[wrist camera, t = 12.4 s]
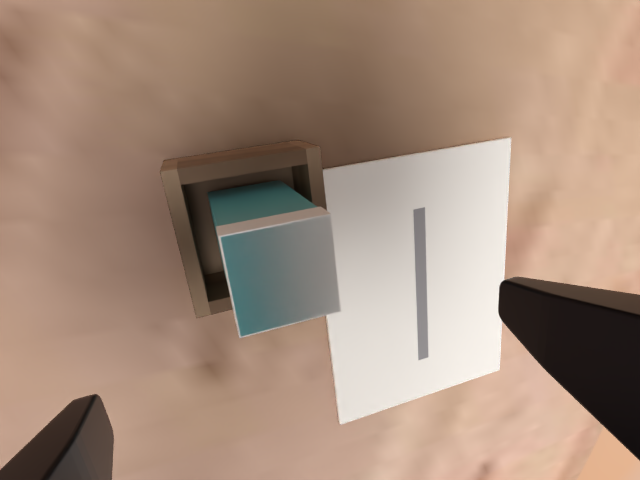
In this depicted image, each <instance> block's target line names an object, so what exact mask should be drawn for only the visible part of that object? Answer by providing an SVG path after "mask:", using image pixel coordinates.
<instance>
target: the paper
mask: <svg viewBox="0 0 640 480" xmlns="http://www.w3.org/2000/svg"><path fill="white" fill-rule="evenodd" d="M510 154H511V138H509V137H507V138H501V139H495V140H489V141H483V142H478V143H472V144H466V145H460V146H454V147H449V148H443V149H437V150H431V151H425V152H420V153H414V154H408V155H402V156H396V157H391V158H385V159H379V160H373V161H367V162H362V163H356V164H350V165H344V166H338V167H333V168H327V169H323V178H324V187H325V196H326V205H327V211H328V212H329V213H331V219H332V229H333V238H334V248H335V257H336V266H337V276H338V285H339V295H340V304H341V312H337V313H334V314H330V315H326V324H327V333H328V341H329V349H330V357H331V365H332V373H333V381H334V389H335V398H336V406H337V414H338V422H339V424H340V425H341V424H344V423H347V422H350V421H353V420H356V419H359V418H362V417H365V416H368V415H370V414H373V413H376V412H379V411H382V410H385V409H388V408H391V407H394V406H397V405H399V404H402V403H405V402H408V401H411V400H414V399H417V398H420V397H423V396H426V395H428V394H431V393H434V392H437V391H440V390H443V389H446V388H449V387H452V386H455V385H457V384H460V383H463V382H466V381H469V380H472V379H475V378H478V377H481V376H484V375H486V374H489V373H492V372H495V371H498V370H500V352H501V332H502V320H501V318H500V316H499V313H498V302H499V286H500V283H501V282H502V281H503V280H504V273H505V253H506V233H507V214H508V194H509V174H510Z"/></svg>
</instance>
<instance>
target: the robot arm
mask: <svg viewBox="0 0 640 480" xmlns="http://www.w3.org/2000/svg"><path fill="white" fill-rule="evenodd" d="M498 313H499V316H500V318H501V320H502V321H503V323H504V324H505V325H506V326H507V327H508V328H509V329H510V331H511V332H512V333H513V334H514V335H515V336H516V338H517V339H518V340H519V341H520V342H521V343H522V344H523V346H524V347H525V348H526V349H527V350H528V351H529V352H530V354H531V355H532V356H533V357H534V358H535V359H536V360H537V362H538V363H539V364H540V365H541V366H542V367H543V368H544V369H545V370H546V371H547V372H548V373H549V374H550V375H551V376H552V377H553V378H554V379H555V380H556V381H557V382H558V383H559V384H560V385H561V386H562V387H563V388H564V389H565V390H567V391H568V392H569V393H570V394H571V395H572V396H573V397H574V398H575V399H576V400H577V401H578V402H579V403H580V404H581V405H582V406H583V407H584V408H585V409H586V410H587V411H588V412H589V413H591V414H592V415H593V416H594V417H595V418H596V419H597V420H598V421H599V422H600V423H601V424H602V425H603V426H604V427H605V428H606V429H607V430H608V431H609V432H610V433H611V434H613V435H614V436H615V437H616V438H617V439H618V440H619V441H620V442H621V443H622V444H623V445H624V446H625V447H626V448H627V449H628V450H629V451H630V452H631V453H632V454H633V455H634V456H635V457H637V458H638V459H639V460H640V295H637V294H631V293H624V292H617V291H611V290H604V289H597V288H591V287H584V286H577V285H570V284H564V283H557V282H550V281H544V280H537V279H530V278H524V277H513V278H510V279H506V280H503V281H502V282H501V283H500V286H499V302H498ZM113 444H114V436H113V430H112V426H111V423H110V421H109V418H108V415H107V413H106V410H105V407H104V405H103V402H102V400H101V398H100V396H99V395H97V394H93V395H89V396H86V397H82V398H78V399H75V400H73V401H72V402H71V403H70V404H68V405H67V406H66V407H65V408H64V409H63V410H62V411H61V412H60V413H59V414H58V415H57V416H56V417H55V418H54V419H53V420H52V421H51V422H50V423H49V424H48V425H47V426H46V427H44V428H43V429H42V430H41V431H40V432H39V433H38V434H37V435H36V436H35V437H34V438H33V439H32V440H31V441H30V442H29V443H28V444H27V445H26V446H25V447H24V448H23V449H21V450H20V451H19V452H18V453H17V454H16V455H15V456H14V457H13V458H12V459H11V460H10V461H9V462H8V463H7V464H6V465H5V466H4V467H3V468H2V469H1V470H0V480H112V465H113Z"/></svg>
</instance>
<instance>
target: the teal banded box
mask: <svg viewBox="0 0 640 480" xmlns="http://www.w3.org/2000/svg"><path fill="white" fill-rule="evenodd" d="M207 194H208V199H209V204H210V208H211V213H212V218H213V223H214V228H215V232H216V237H217V242H218V247H219V252H220V256H221V261H222V265H223V269H224V273H225V277H226V281H227V285H228V289H229V293H230V298H231V303H232V308H233V313H234V317H235V322H236V326H237V330H238V334H239V338H243V337H247V336H251V335H254V334H258V333H262V332H266V331H270V330H273V329H277V328H281V327H285V326H288V325H292V324H296V323H300V322H303V321H307V320H311V319H315V318H319V317H322V316H326V315H330V314H334V313H337V312H341V304H340V295H339V285H338V276H337V266H336V257H335V248H334V238H333V229H332V219H331V213H329V212H328V211H326V210H325V209H324V208H322V207H321V206H320V207H317V206H315V205H314V204H313V203H311V202H310V201H308V200H307V199H306V198H304V197H303V196H301V195H300V194H299V193H297V192H296V191H294V190H293V189H292V188H290V187H289V186H287V185H286V184H285V183H283V182H282V181H280V180H277V181H271V182H265V183H260V184H254V185H248V186H242V187H236V188H230V189H224V190H218V191H212V192H207Z"/></svg>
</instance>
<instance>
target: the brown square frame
mask: <svg viewBox="0 0 640 480" xmlns="http://www.w3.org/2000/svg"><path fill="white" fill-rule="evenodd" d="M160 174H161V178H162V182H163V186H164V190H165V194H166V198H167V202H168V206H169V210H170V214H171V218H172V222H173V226H174V230H175V234H176V238H177V242H178V246H179V250H180V254H181V258H182V262H183V266H184V270H185V274H186V278H187V282H188V286H189V290H190V294H191V298H192V302H193V306H194V310H195V314H196V318H200V317H204V316H208V315H212V314H216V313H220V312H224V311H228V310H232V309H233V308H232V303H231V298H230V293H229V289H228V285H227V281H226V277H225V273H224V269H223V265H222V261H221V256H220V252H219V247H218V242H217V237H216V232H215V228H214V223H213V218H212V213H211V208H210V204H209V199H208V194H207V192H212V191H218V190H224V189H230V188H236V187H242V186H248V185H254V184H260V183H265V182H271V181H277V180H280V181H282V182H283V183H285V184H286V185H287V186H289V187H290V188H292V189H293V190H294V191H296V192H297V193H299V194H300V195H301V196H303V197H304V198H306V199H307V200H308V201H310V202H311V203H313V204H314V205H315V206H317V207H320V206H321V207H322V208H324V209H325V210H326V211H327V205H326V196H325V187H324V178H323V169H322V160H321V151H320V146H316V145H313V144H310V143H306V142H303V141H299V140H294V141H288V142H281V143H275V144H268V145H261V146H255V147H248V148H241V149H235V150H228V151H221V152H215V153H208V154H202V155H195V156H188V157H182V158H175V159H168V160H164V161H163V164H162V167H161V170H160Z"/></svg>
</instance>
